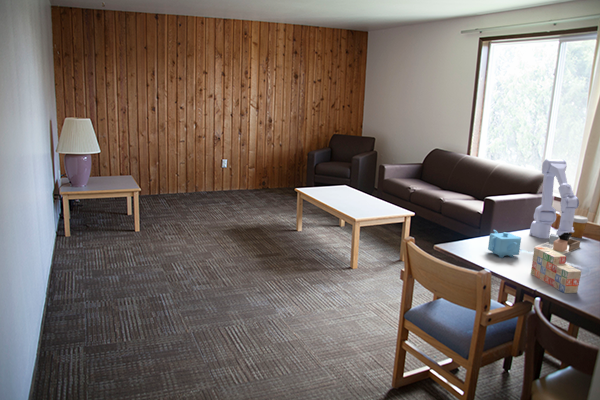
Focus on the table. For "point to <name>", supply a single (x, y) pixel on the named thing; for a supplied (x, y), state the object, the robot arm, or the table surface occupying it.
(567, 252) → the deck
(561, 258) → the stack of blocks
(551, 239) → the white block
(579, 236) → the disposable coffee cup
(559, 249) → the terracotta cube
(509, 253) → the teapot
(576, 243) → the walnut cubby
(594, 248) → the table surface
